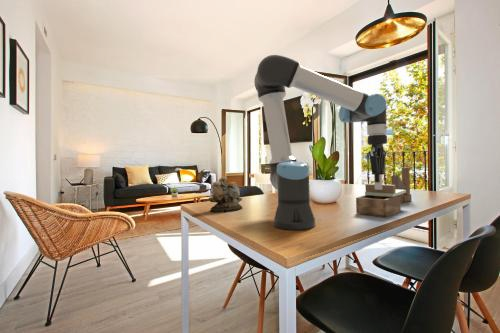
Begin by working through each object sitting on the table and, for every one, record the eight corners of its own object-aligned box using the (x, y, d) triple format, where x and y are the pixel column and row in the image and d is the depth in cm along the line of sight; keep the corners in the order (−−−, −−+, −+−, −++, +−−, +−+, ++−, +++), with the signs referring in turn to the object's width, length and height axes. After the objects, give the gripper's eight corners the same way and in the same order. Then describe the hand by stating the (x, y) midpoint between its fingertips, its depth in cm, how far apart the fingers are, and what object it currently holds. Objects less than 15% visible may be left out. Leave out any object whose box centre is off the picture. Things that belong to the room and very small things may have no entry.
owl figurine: (214, 214, 119) (212, 178, 119) (204, 211, 129) (203, 177, 129) (246, 209, 128) (245, 175, 128) (235, 206, 138) (234, 175, 138)
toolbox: (356, 213, 109) (356, 197, 109) (372, 207, 120) (372, 193, 120) (386, 217, 100) (385, 200, 100) (400, 210, 112) (400, 195, 111)
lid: (364, 194, 114) (364, 184, 114) (379, 190, 126) (379, 181, 126) (393, 196, 106) (392, 185, 106) (405, 192, 117) (405, 182, 117)
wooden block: (391, 202, 134) (390, 168, 133) (405, 200, 138) (404, 167, 138) (398, 203, 130) (397, 168, 130) (411, 201, 135) (411, 167, 134)
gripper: (380, 133, 102) (381, 191, 103) (391, 134, 111) (393, 188, 112) (361, 135, 108) (363, 190, 108) (374, 136, 117) (375, 187, 117)
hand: (378, 189), depth 110 cm, fingers closed
